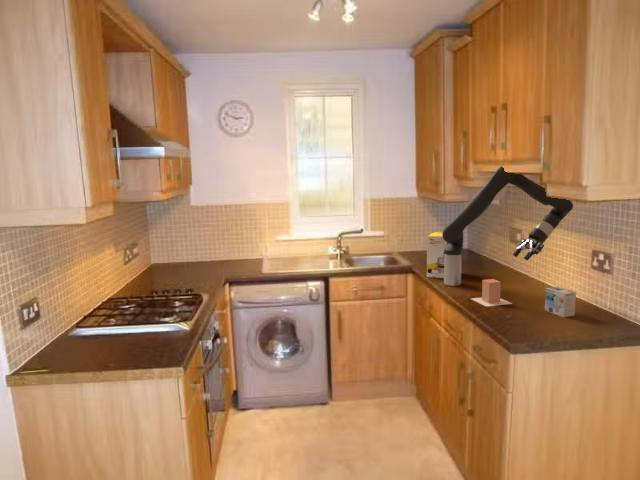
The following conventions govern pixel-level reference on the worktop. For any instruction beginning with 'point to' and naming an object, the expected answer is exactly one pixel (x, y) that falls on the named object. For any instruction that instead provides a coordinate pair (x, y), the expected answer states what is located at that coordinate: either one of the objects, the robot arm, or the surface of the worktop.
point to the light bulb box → (560, 301)
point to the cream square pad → (479, 300)
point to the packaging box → (435, 255)
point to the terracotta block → (491, 290)
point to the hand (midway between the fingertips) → (519, 257)
